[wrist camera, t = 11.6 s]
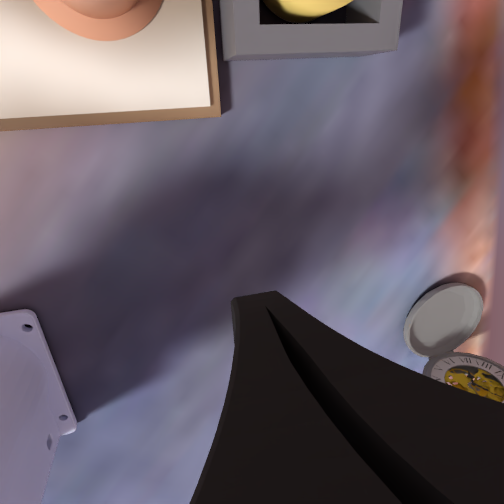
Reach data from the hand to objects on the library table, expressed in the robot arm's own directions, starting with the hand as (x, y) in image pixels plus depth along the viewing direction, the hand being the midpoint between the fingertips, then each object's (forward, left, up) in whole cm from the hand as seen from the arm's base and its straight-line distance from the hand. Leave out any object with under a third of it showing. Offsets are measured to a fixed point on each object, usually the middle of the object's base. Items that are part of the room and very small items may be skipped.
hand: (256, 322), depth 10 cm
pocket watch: (-12, -17, -11) cm, 23 cm away
